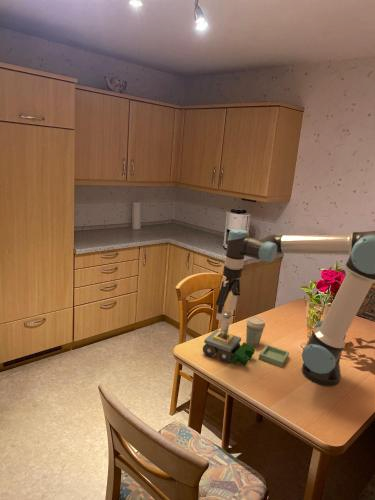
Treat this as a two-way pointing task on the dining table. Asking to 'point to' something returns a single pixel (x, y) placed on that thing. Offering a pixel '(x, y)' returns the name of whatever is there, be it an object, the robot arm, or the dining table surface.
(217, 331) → the toy cart
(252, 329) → the coffee cup
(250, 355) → the clamp
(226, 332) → the pin
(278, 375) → the dining table surface
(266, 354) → the tray
